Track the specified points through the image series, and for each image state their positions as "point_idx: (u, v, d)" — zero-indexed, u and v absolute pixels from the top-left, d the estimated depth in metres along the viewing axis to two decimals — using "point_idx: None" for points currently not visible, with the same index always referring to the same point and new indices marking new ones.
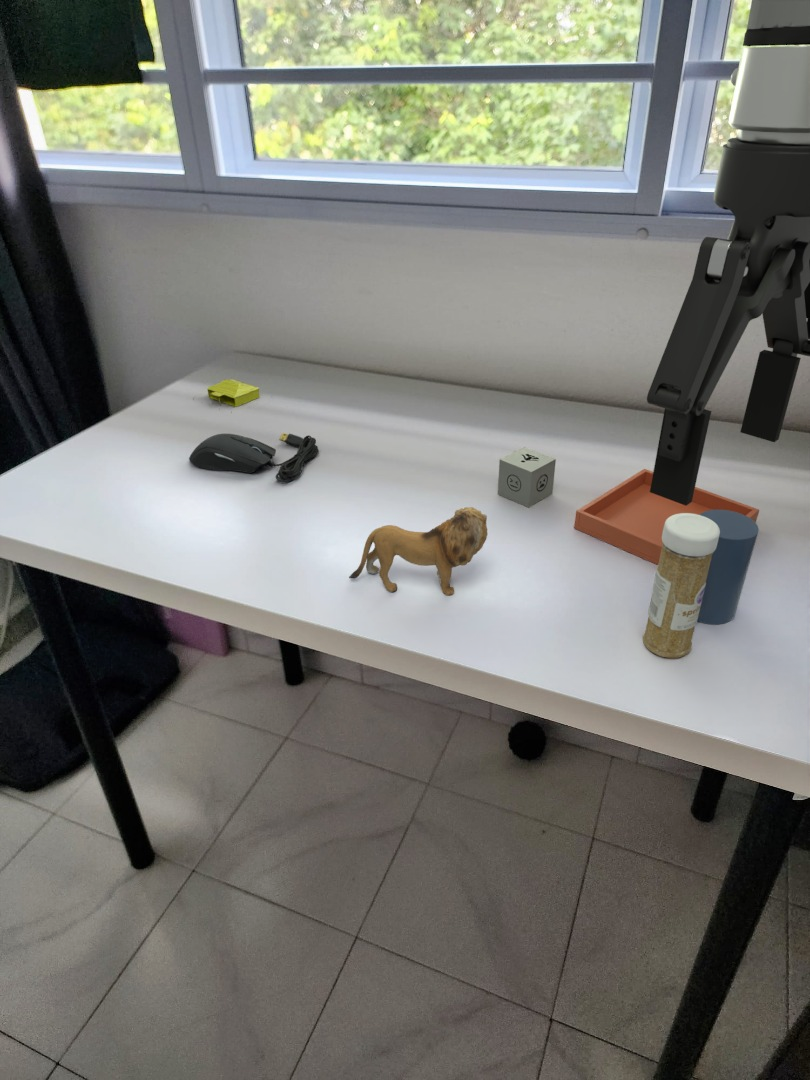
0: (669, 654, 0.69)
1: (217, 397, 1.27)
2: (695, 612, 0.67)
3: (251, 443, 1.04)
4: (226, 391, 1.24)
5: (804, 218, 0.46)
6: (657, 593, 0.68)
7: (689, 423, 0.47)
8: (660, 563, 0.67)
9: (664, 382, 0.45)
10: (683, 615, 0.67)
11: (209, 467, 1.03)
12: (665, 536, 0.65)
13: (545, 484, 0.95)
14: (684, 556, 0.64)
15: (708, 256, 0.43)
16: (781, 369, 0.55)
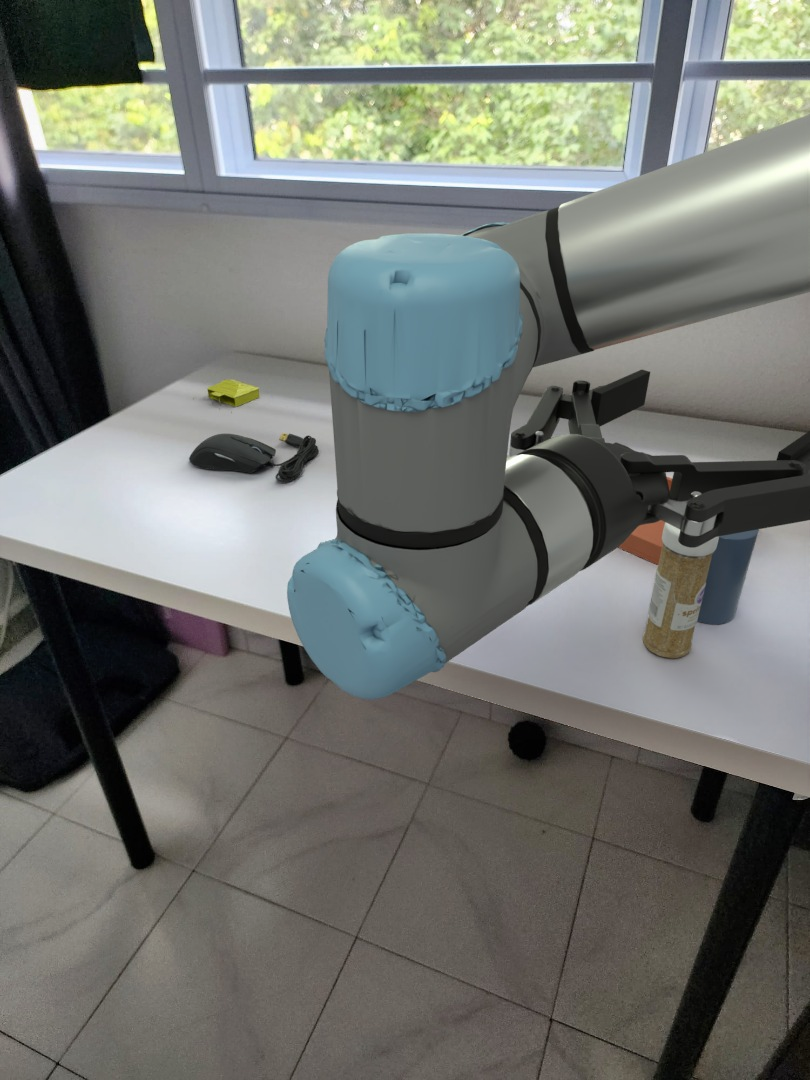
0: (669, 654, 0.69)
1: (217, 397, 1.27)
2: (695, 612, 0.67)
3: (251, 443, 1.04)
4: (226, 391, 1.24)
5: None
6: (657, 593, 0.68)
7: None
8: (660, 563, 0.67)
9: (808, 510, 0.43)
10: (683, 615, 0.67)
11: (209, 467, 1.03)
12: (665, 536, 0.65)
13: None
14: (684, 555, 0.64)
15: (704, 534, 0.41)
16: (606, 401, 0.55)
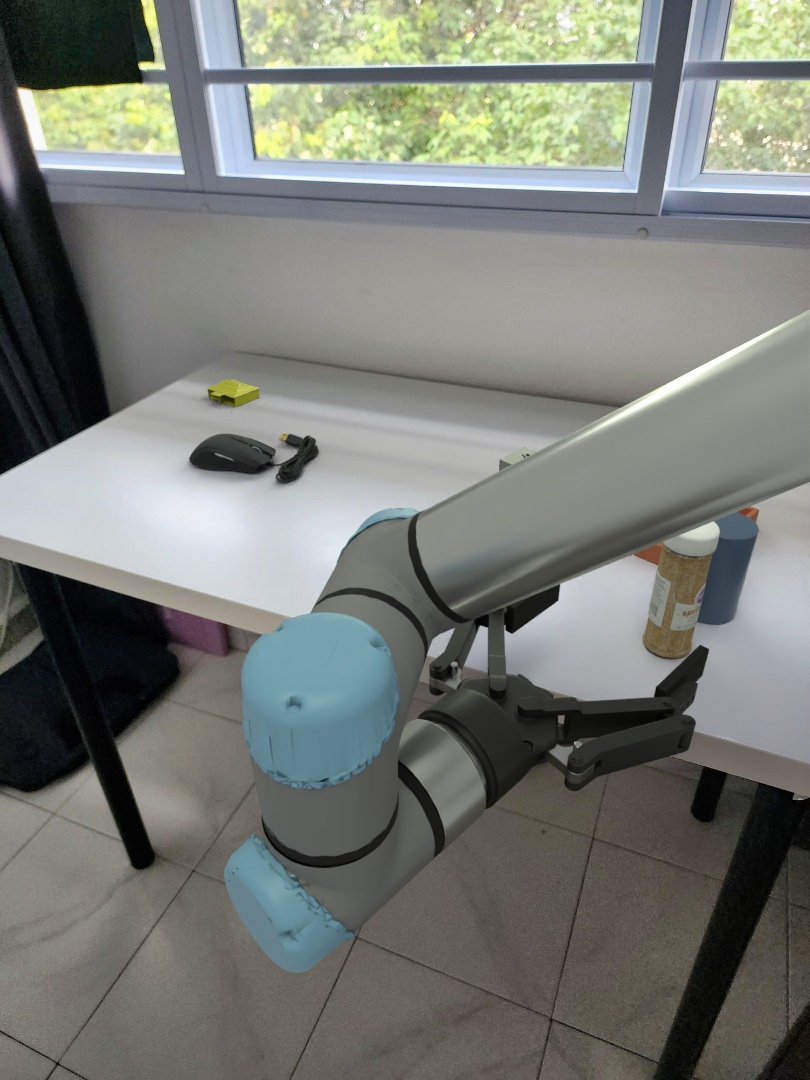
0: (669, 654, 0.69)
1: (217, 397, 1.27)
2: (695, 612, 0.67)
3: (251, 443, 1.04)
4: (226, 391, 1.24)
5: None
6: (657, 593, 0.68)
7: (676, 698, 0.53)
8: (660, 563, 0.67)
9: (677, 747, 0.51)
10: (683, 615, 0.67)
11: (209, 467, 1.03)
12: None
13: None
14: (684, 555, 0.64)
15: (585, 780, 0.49)
16: (520, 611, 0.62)
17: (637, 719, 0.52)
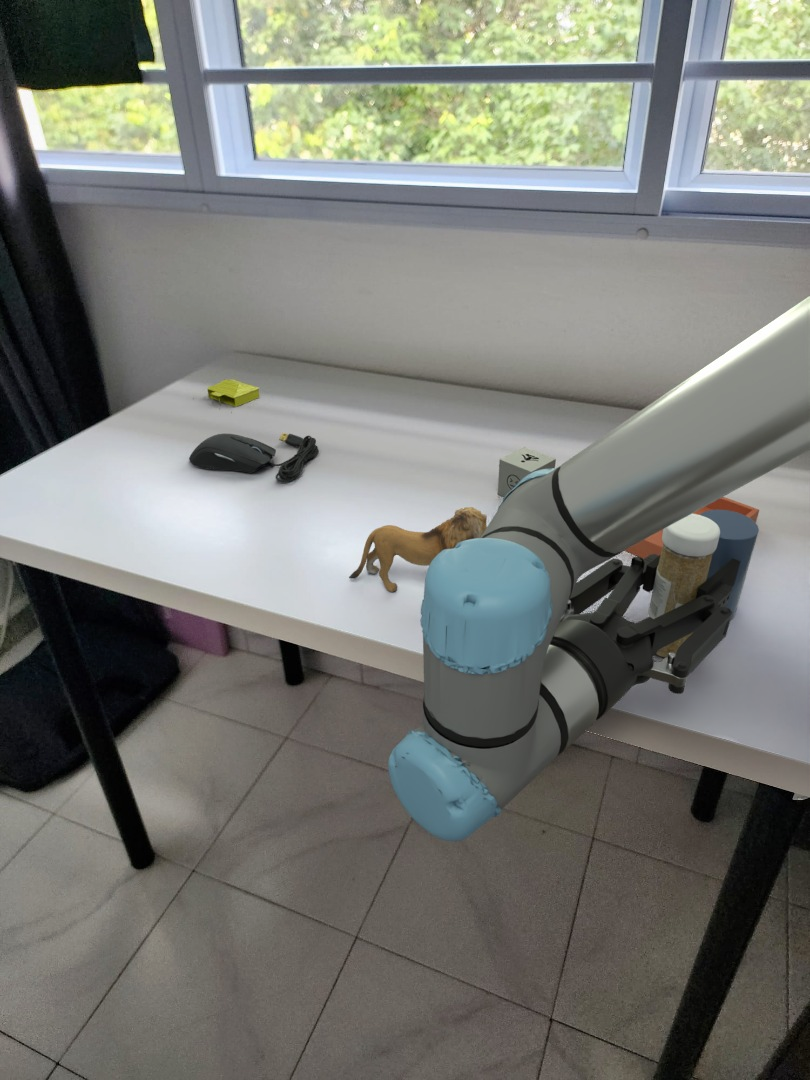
0: None
1: (217, 397, 1.27)
2: None
3: (251, 443, 1.04)
4: (226, 391, 1.24)
5: None
6: (657, 593, 0.67)
7: (714, 597, 0.65)
8: (660, 563, 0.67)
9: (722, 634, 0.63)
10: None
11: (209, 467, 1.03)
12: (665, 536, 0.65)
13: None
14: (684, 556, 0.64)
15: None
16: None
17: (694, 619, 0.63)
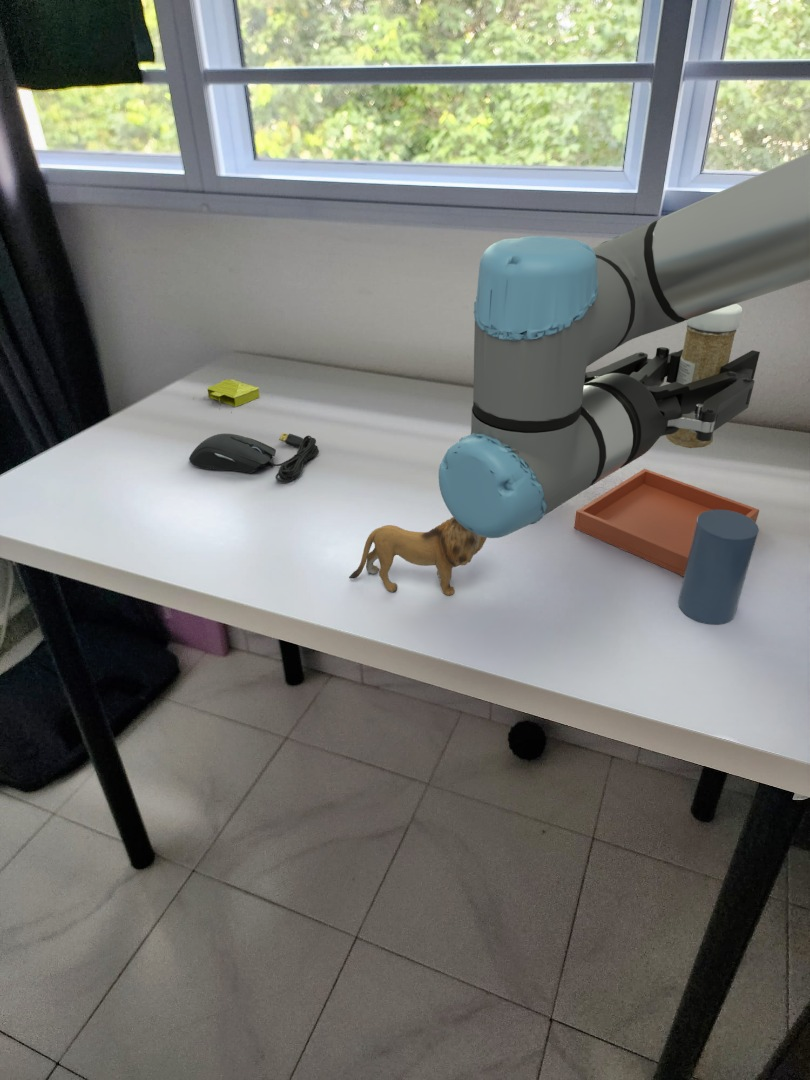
0: (692, 444, 0.73)
1: (217, 397, 1.27)
2: None
3: (251, 443, 1.04)
4: (226, 391, 1.24)
5: None
6: (681, 379, 0.71)
7: None
8: (684, 348, 0.70)
9: (745, 402, 0.66)
10: None
11: (209, 467, 1.03)
12: None
13: None
14: (708, 332, 0.67)
15: (713, 430, 0.61)
16: None
17: (718, 389, 0.66)
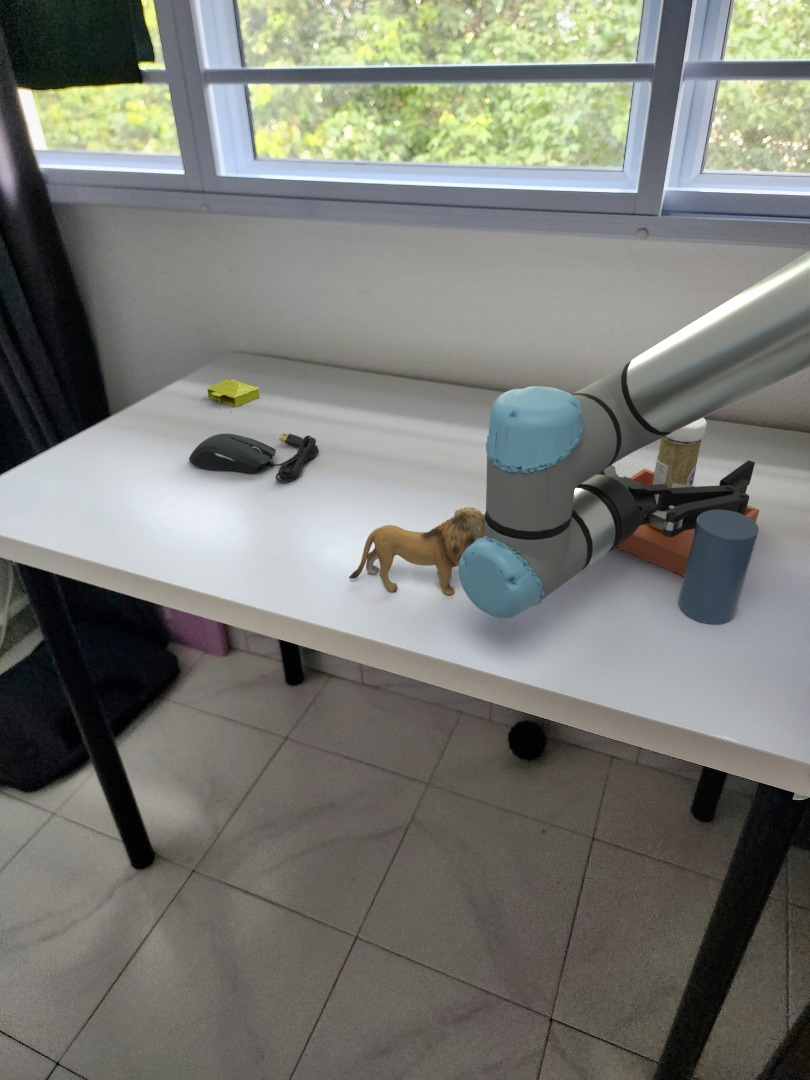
0: None
1: (217, 397, 1.27)
2: None
3: (251, 443, 1.04)
4: (226, 391, 1.24)
5: None
6: (657, 476, 0.85)
7: None
8: (660, 451, 0.84)
9: None
10: None
11: (209, 467, 1.03)
12: None
13: None
14: (678, 442, 0.81)
15: (677, 529, 0.74)
16: None
17: (708, 498, 0.77)
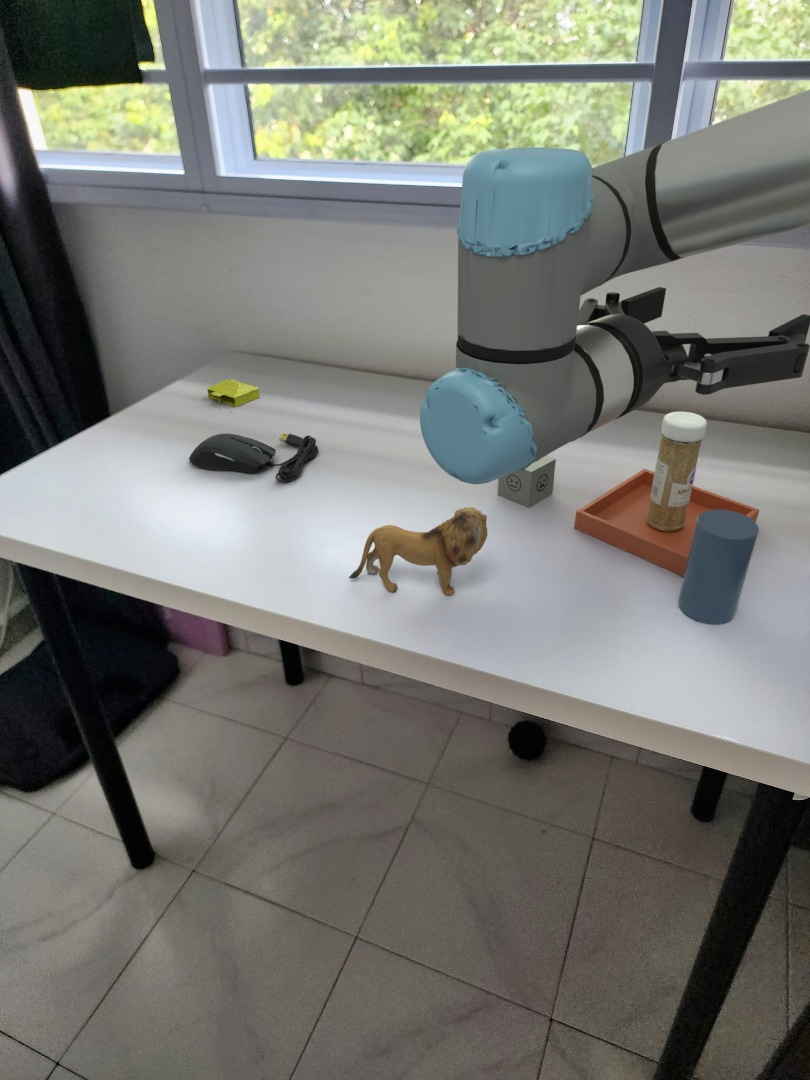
0: (667, 528, 0.87)
1: (217, 397, 1.27)
2: (688, 491, 0.85)
3: (251, 443, 1.04)
4: (226, 391, 1.24)
5: None
6: (657, 476, 0.85)
7: None
8: (660, 451, 0.84)
9: (792, 369, 0.58)
10: (678, 493, 0.84)
11: (209, 467, 1.03)
12: (664, 428, 0.82)
13: (545, 484, 0.95)
14: (678, 442, 0.81)
15: (715, 384, 0.55)
16: (633, 309, 0.69)
17: None
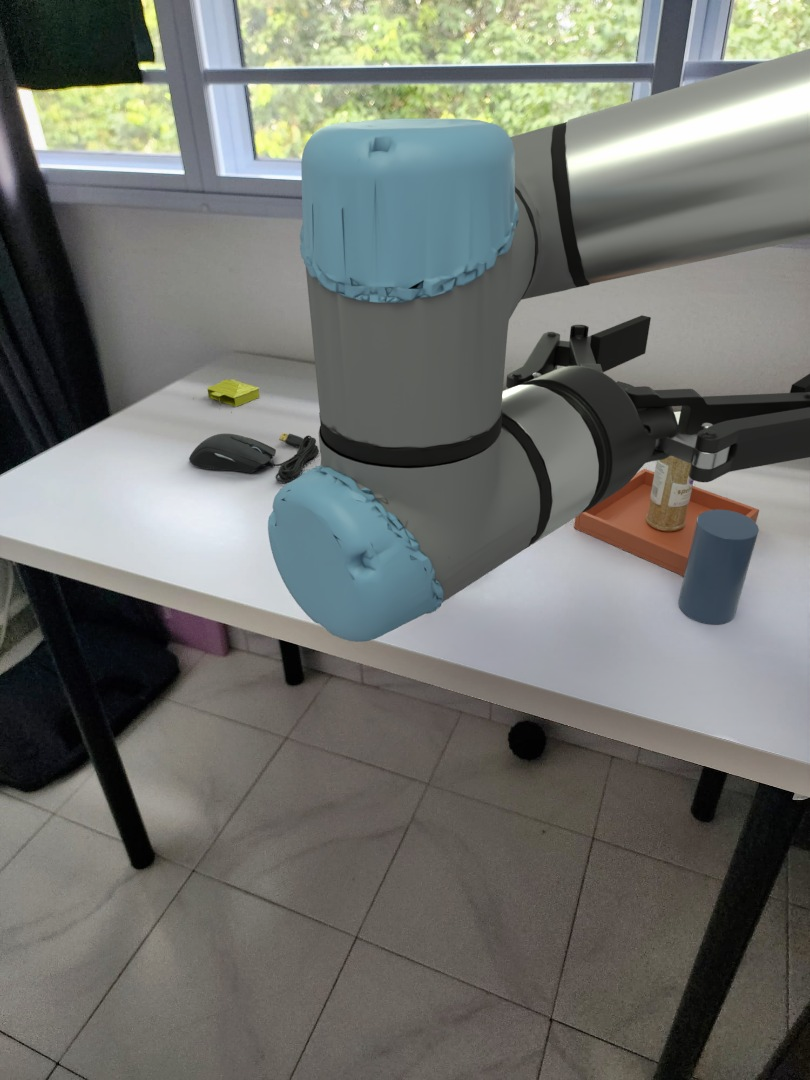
0: (667, 528, 0.87)
1: (217, 397, 1.27)
2: (688, 491, 0.85)
3: (251, 443, 1.04)
4: (226, 391, 1.24)
5: None
6: (657, 476, 0.85)
7: None
8: None
9: None
10: (678, 493, 0.84)
11: (209, 467, 1.03)
12: None
13: None
14: None
15: (717, 468, 0.39)
16: (606, 346, 0.52)
17: None
